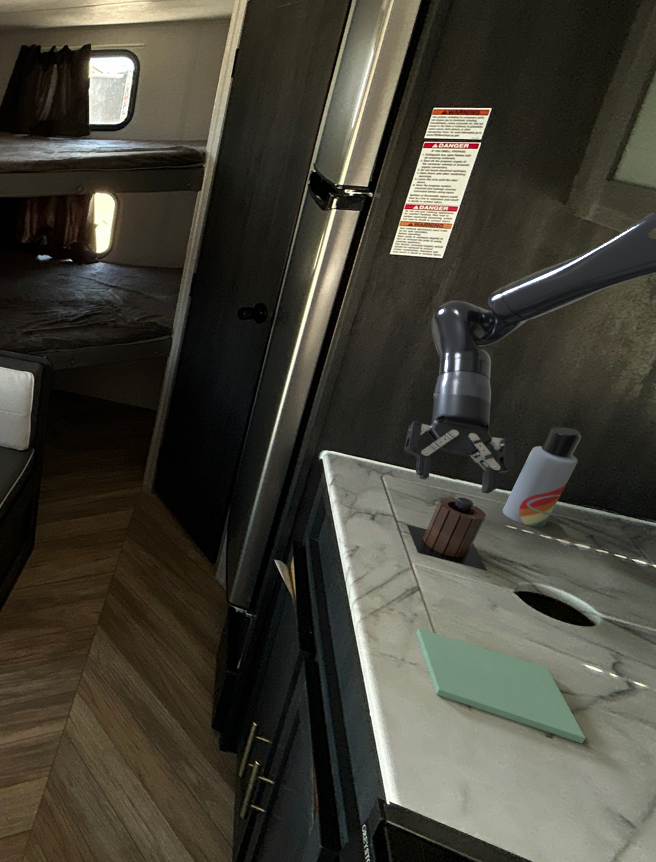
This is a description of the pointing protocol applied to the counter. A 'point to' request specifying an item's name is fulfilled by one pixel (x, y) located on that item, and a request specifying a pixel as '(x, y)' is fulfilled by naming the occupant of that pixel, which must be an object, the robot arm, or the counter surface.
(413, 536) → the peg stand
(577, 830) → the counter surface
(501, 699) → the mat
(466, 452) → the robot arm
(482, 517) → the brown grooved hollow cylinder
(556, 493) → the lotion bottle
